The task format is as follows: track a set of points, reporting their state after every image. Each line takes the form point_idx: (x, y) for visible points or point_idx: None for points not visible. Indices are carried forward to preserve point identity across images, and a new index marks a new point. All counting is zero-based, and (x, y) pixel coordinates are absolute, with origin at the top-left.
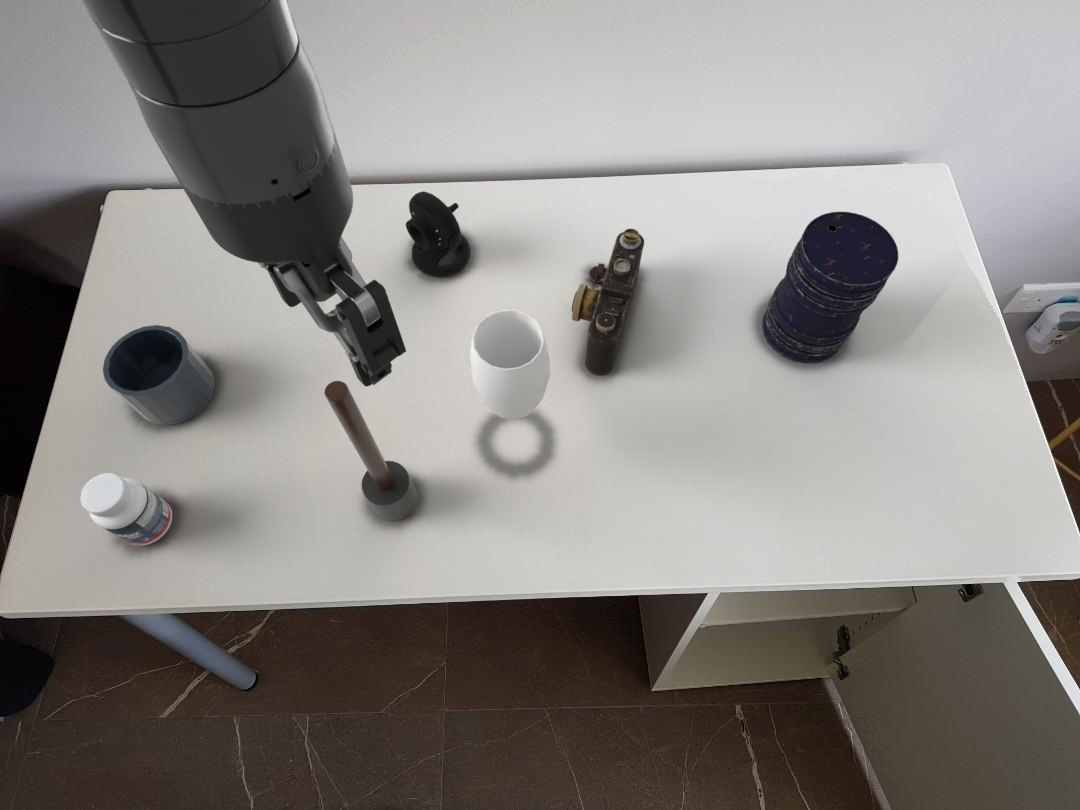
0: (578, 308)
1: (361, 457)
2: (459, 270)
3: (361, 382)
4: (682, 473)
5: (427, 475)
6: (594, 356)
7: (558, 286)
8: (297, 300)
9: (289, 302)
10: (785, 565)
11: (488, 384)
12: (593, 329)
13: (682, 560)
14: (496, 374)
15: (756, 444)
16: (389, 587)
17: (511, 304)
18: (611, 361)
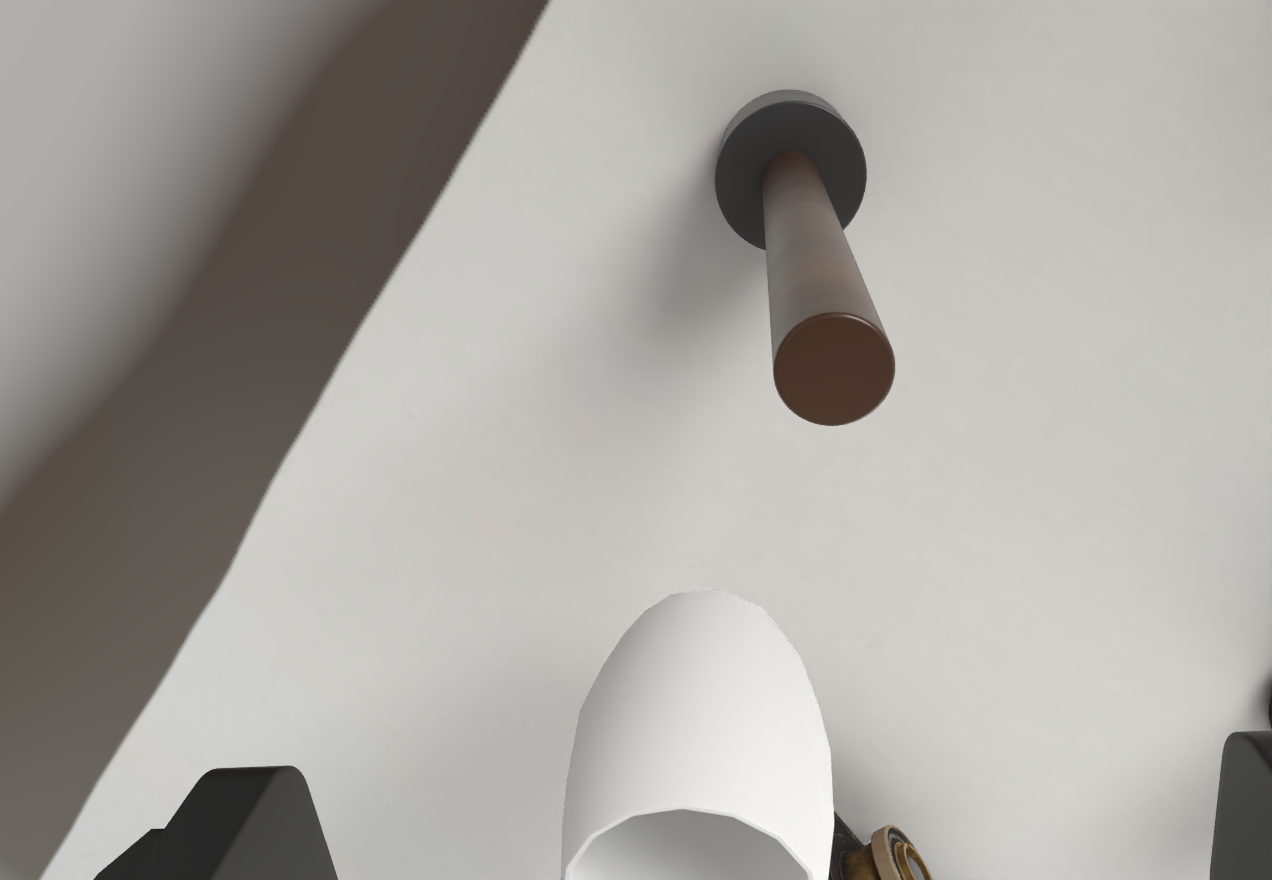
0: (882, 875)
1: (790, 193)
2: (1270, 705)
3: (230, 778)
4: (423, 730)
5: None
6: None
7: (1016, 842)
8: (1239, 809)
9: (1263, 777)
10: (157, 741)
11: (642, 723)
12: None
13: (260, 608)
14: (613, 792)
15: (395, 868)
16: (571, 5)
17: (1064, 733)
18: None
